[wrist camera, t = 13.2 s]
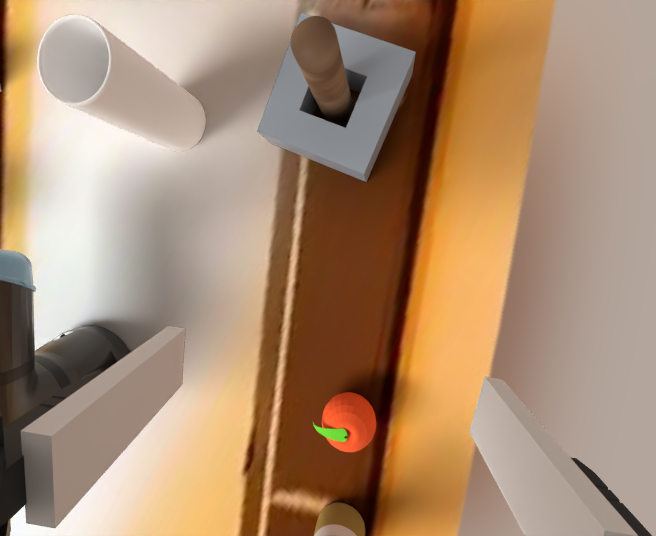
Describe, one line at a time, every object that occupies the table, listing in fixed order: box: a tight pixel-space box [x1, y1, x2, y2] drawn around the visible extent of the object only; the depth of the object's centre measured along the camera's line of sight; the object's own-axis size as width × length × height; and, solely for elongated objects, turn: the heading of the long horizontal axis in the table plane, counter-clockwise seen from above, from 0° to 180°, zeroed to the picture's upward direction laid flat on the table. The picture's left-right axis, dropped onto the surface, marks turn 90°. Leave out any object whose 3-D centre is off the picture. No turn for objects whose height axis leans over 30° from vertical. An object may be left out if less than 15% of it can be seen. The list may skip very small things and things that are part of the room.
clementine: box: [313, 392, 376, 452], centre depth 42 cm, size 8×7×7 cm
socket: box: [257, 13, 416, 182], centre depth 40 cm, size 14×14×5 cm
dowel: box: [291, 16, 354, 127], centre depth 35 cm, size 4×4×15 cm
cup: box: [37, 14, 206, 152], centre depth 38 cm, size 8×8×16 cm
